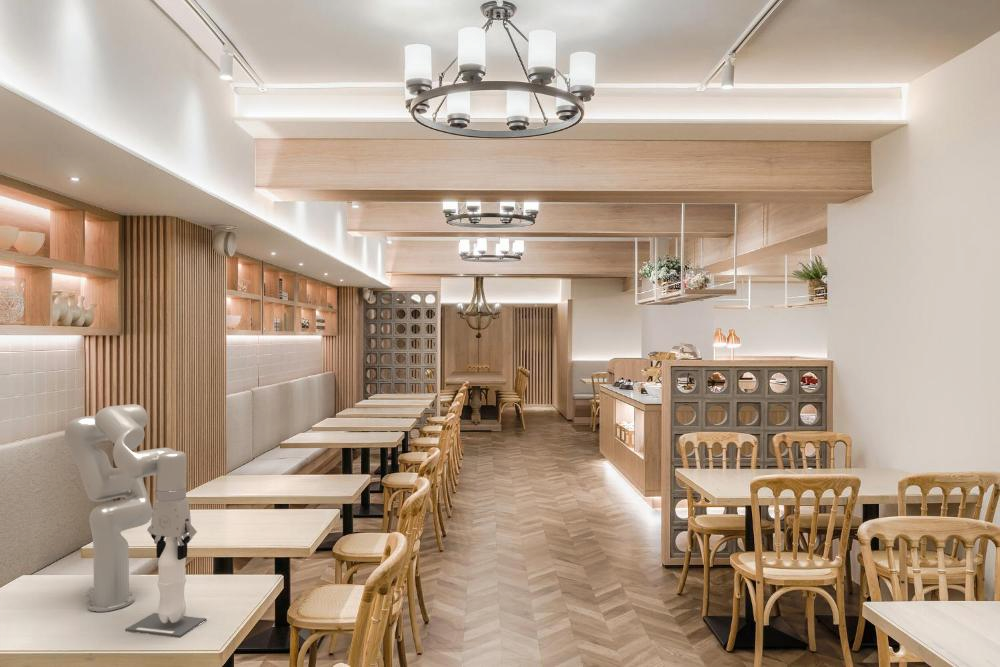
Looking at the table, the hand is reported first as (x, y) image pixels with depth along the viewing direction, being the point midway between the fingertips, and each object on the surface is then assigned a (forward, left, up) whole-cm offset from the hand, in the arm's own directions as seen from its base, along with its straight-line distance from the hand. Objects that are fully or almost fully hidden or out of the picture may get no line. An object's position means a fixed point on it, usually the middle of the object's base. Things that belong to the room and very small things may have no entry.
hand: (171, 556), depth 189 cm
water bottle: (0, 0, -18) cm, 18 cm away
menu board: (-2, 0, -20) cm, 20 cm away
